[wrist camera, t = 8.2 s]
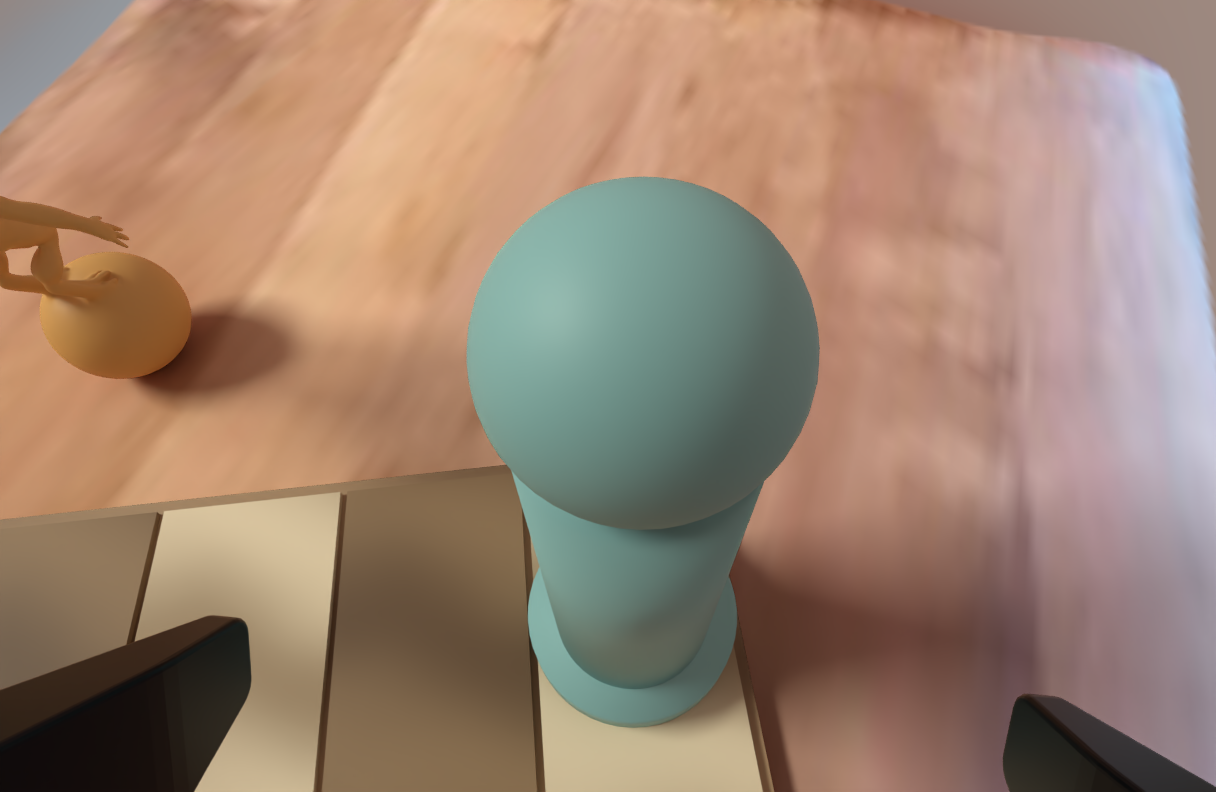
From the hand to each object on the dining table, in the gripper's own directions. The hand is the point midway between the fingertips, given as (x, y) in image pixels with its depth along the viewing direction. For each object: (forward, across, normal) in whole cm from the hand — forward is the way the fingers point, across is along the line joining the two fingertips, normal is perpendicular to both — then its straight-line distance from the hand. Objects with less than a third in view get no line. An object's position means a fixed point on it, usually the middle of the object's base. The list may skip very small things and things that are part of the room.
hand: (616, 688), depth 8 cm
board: (+9, +8, +6) cm, 13 cm away
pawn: (+10, 0, +5) cm, 11 cm away
